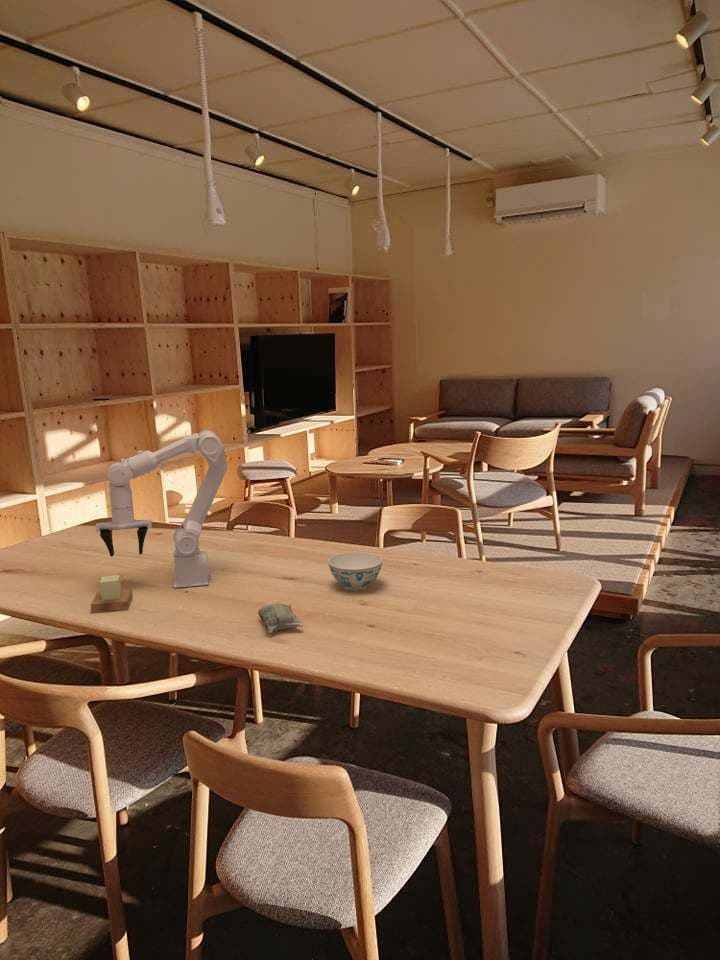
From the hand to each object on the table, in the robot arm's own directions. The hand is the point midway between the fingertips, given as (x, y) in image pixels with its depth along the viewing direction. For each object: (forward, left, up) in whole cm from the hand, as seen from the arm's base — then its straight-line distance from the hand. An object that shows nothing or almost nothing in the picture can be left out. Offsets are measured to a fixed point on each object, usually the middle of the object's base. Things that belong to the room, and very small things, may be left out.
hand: (126, 554), depth 193 cm
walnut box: (+3, +11, -11) cm, 16 cm away
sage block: (+3, +11, -8) cm, 14 cm away
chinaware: (-62, +13, -11) cm, 64 cm away
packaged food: (-40, +35, -11) cm, 54 cm away
